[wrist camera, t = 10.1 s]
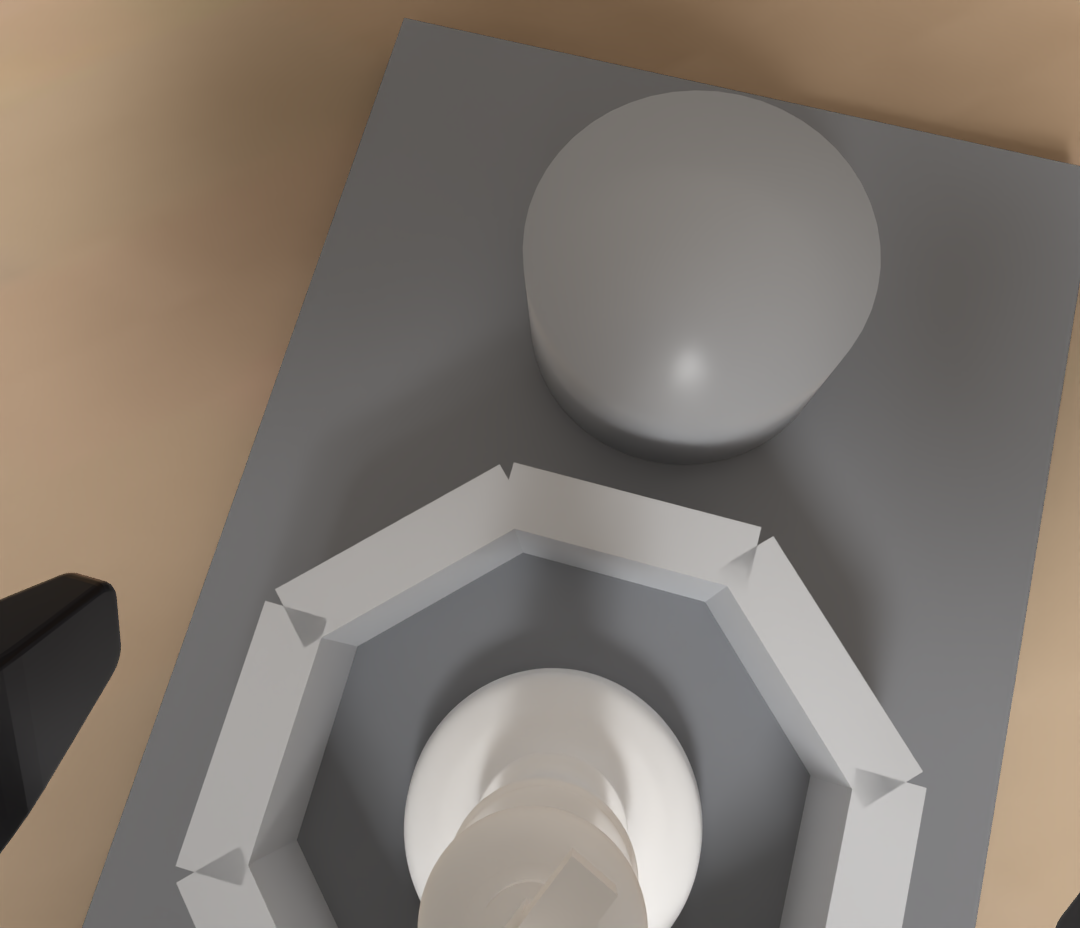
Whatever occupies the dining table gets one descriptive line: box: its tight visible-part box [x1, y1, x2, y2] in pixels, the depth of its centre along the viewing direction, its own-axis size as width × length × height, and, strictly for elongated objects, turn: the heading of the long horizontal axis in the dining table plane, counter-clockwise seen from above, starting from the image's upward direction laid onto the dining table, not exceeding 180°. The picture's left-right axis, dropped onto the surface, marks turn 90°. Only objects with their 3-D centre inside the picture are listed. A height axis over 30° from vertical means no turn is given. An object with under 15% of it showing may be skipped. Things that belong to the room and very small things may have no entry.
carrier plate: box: [82, 18, 1080, 928], centre depth 16 cm, size 24×14×4 cm, turn 165°
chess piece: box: [404, 668, 703, 928], centre depth 11 cm, size 5×5×10 cm
